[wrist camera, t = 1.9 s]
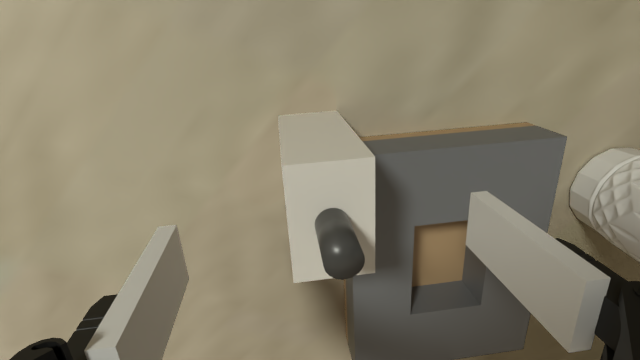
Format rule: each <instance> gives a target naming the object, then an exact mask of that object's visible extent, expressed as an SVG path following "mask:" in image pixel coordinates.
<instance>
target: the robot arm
mask: <svg viewBox="0 0 640 360" xmlns="http://www.w3.org/2000/svg"><path fill="white" fill-rule="evenodd" d="M466 245H467V246H468V248H469V249H470V250H471V251H472V252H473V253H474V254H475V255H476V256H477V257H478V258H479V259H480V260H481V261H482V262H483V263H484V264H485V265H486V266H487V268H488V269H489V270H490V271H491V272H492V273H493V274H494V275H495V276H496V277H497V278H498V279H499V280H500V281H501V282H502V283H503V284H504V285H505V286H506V288H507V289H508V290H509V291H510V292H511V293H512V294H513V295H514V296H515V297H516V298H517V299H518V300H519V301H520V302H521V303H522V304H523V305H524V306H525V308H526V309H527V310H528V311H529V312H530V313H531V314H532V315H533V316H534V317H535V318H536V319H537V320H538V321H539V322H540V323H541V324H542V325H543V326H544V328H545V329H546V330H547V331H548V332H549V333H550V334H551V335H552V336H553V337H554V338H555V339H556V340H557V341H558V342H559V343H560V344H561V345H562V346H563V348H564V349H565V350H566V351H567V352H568V353H572V352H578V351H584V350H591V347H592V343H593V340H594V336H595V334H596V335H597V336H598V337H599V338H600V339H601V340H602V341H603V342H604V343H605V346H604V349H603V352H602V356H601V359H600V360H640V282H639V281H630V282H628V281H626V280H625V279H624V278H622V277H621V276H619V275H618V274H616V273H615V272H613V271H612V270H610V269H609V268H607V267H606V266H604V265H603V264H601V263H600V262H598V261H595V259H594V258H593V257H591V256H590V255H588V254H585V252H584V251H582V250H581V249H579V248H578V247H576V246H575V245H573V244H571V243H569V242H566V241H564V240H561V239H559V238H556V239H555V238H553V237H552V236H550V235H549V234H547V233H546V232H545V231H543V230H542V229H540V228H539V227H537V226H536V225H535V224H533V223H532V222H530V221H529V220H527V219H526V218H525V217H523V216H522V215H520V214H519V213H517V212H516V211H515V210H513V209H512V208H510V207H509V206H508V205H506V204H505V203H503V202H502V201H500V200H499V199H498V198H496V197H495V196H493V195H492V194H490V193H489V192H488V191H480V192H471V195H470V205H469V215H468V225H467V235H466ZM188 280H189V276H188V272H187V267H186V263H185V259H184V254H183V250H182V246H181V241H180V237H179V232H178V228H177V225H170V226H161V227H158V228H157V229H156V231H155V233H154V234H153V236H152V238H151V240H150V241H149V243H148V245H147V246H146V248H145V250H144V251H143V253H142V255H141V256H140V258H139V260H138V261H137V263H136V265H135V266H134V268H133V270H132V271H131V273H130V275H129V276H128V278H127V280H126V281H125V283H124V285H123V286H122V288H121V290H120V291H119V293H118V294H117V295H109V296H104V297H102V298H101V299H100V300H99V301H98V302H96V303H95V304H94V305H93V306H92V307H91V308H90V309H89V311H88V312H87V314H86V315H85V317H84V318H83V321H81V323H80V324H79V326H78V327H77V330H76V331H75V332H74V333H73V335H72V336H71V338H70V339H69V341H68V342H67V343H66V342H65V341H64V340H63V339H61V338H50V339H45V340H41V341H38V342H36V343H33V344H31V345H29V346H27V347H26V348H24V349H22V350H21V351H19V352H18V353H17V354H15V355H14V356H13V357H12V358H11V359H10V360H162V357H163V354H164V351H165V348H166V345H167V342H168V340H169V337H170V334H171V331H172V328H173V325H174V322H175V319H176V316H177V313H178V310H179V307H180V304H181V301H182V298H183V295H184V292H185V289H186V286H187V283H188Z"/></svg>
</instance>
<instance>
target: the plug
mask: <svg viewBox="0 0 640 360" xmlns="http://www.w3.org/2000/svg"><path fill="white" fill-rule="evenodd" d="M278 123H279V137H280V151H281V165H282V175H283V184H284V194H285V204H286V213H287V223H288V233H289V242H290V252H291V261H292V271H293V281H294V283H298V282H306V281H315V280H323V279H331V278H335V279H349V278H352V277H354V276H355V275H363V274H371V273H375V156H374V155H373V154H372V152H371V151H370V150H369V149H368V148H367V146H366V145H365V144H364V143H363V141H362V140H361V139H360V138H359V137H358V135H357V134H356V133H355V132H354V131H353V129H352V128H351V127H350V126H349V125H348V123H347V122H346V121H345V120H344V119H343V117H342V116H341V115H340V114H339V112H338V111H326V112H314V113H302V114H290V115H278Z"/></svg>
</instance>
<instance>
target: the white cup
mask: <svg viewBox="0 0 640 360" xmlns="http://www.w3.org/2000/svg"><path fill="white" fill-rule="evenodd" d="M569 205H570V207H571V209H572V211H573V212H574V214H575V216H576V217H577V218H578V219H579V220H581V221H582V222H584V223H585V224H587V225H588V226H590V227H591V228H593V229H594V230H596V231H597V232H599V233H600V234H601V235H602V236H603V237H604V238H606V239H607V240H608V241H609V242H610V243H612V244H613V245H615V246H616V247H618V248H619V249H621V250H622V251H624V253H626V254H627V255H628V256H630V257H631V258H633V259H634V260H636V261H637V262H639V263H640V150H637V149H633V148H612V149H609V150H607V151H605V152H603V153H601V154H599V155H597V156H595V157H593V158H592V159H591V160H590V161H589V162H588V163H587V164H586V165H585V166H584V167H583V168H582V169H581V170H580V171H579V172H578V174H577V176H576V178H575V180H574V182H573V184H572V186H571V188H570V204H569Z"/></svg>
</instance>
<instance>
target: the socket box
mask: <svg viewBox="0 0 640 360" xmlns="http://www.w3.org/2000/svg"><path fill="white" fill-rule="evenodd" d="M359 138H360V139H361V140H362V141H363V143H364V144H365V145H366V146H367V148H368V149H369V150H370V151H371V152H372V154H373V155H374V156H375V273H371V274H363V275H355V276H354V277H352V278H349V279H344V297H345V323H346V337H347V341H348V346H349V350H350V354H351V358H352V360H454V359H460V358H467V357H474V356H480V355H487V354H494V353H501V352H507V351H514V350H521V349H523V347H524V343H525V338H526V333H527V328H528V323H529V318H530V314H531V313H530V312H529V311H528V310H527V309H526V308H525V306H524V305H523V304H522V303H521V302H520V301H519V300H518V299H517V298H516V297H515V296H514V295H513V294H512V293H511V292H510V291H509V290H508V289H507V288H506V286H505V285H504V284H503V283H502V282H501V281H500V280H499V279H498V278H497V277H496V276H495V275H494V274H493V273H492V272H491V271H490V270H489V269H488V268H487V266H486V265H485V264H484V263H483V262H482V261H481V260H480V259H479V258H478V257H477V256H476V255H475V254H474V253H473V252H472V251H471V250H470V249H469V248H468V246H467V245H466V235H467V225H468V215H469V205H470V195H471V192H480V191H488V192H489V193H490V194H492V195H493V196H495V197H496V198H498V199H499V200H500V201H502V202H503V203H505V204H506V205H508V206H509V207H510V208H512V209H513V210H515V211H516V212H517V213H519V214H520V215H522V216H523V217H525V218H526V219H527V220H529V221H530V222H532V223H533V224H535V225H536V226H537V227H539V228H540V229H542V230H543V231H545V232H546V233H547V232H548V227H549V222H550V217H551V212H552V207H553V203H554V198H555V193H556V188H557V183H558V178H559V174H560V169H561V164H562V159H563V154H564V149H565V145H566V140H567V136H564V135H561V134H558V133H555V132H553V131H550V130H547V129H544V128H541V127H538V126H536V125H533V124H530V123H527V122H524V123H513V124H502V125H491V126H480V127H469V128H458V129H446V130H435V131H424V132H413V133H402V134H391V135H380V136H368V137H359Z"/></svg>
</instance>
